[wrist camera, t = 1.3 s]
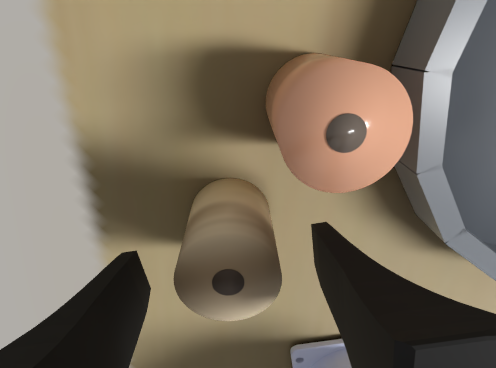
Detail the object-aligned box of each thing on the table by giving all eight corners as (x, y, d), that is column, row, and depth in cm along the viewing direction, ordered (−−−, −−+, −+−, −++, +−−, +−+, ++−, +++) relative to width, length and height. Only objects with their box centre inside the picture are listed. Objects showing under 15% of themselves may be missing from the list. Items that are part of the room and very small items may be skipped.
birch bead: (273, 239, 17) (287, 314, 13) (200, 250, 17) (187, 328, 13) (263, 172, 15) (275, 230, 11) (183, 185, 16) (160, 247, 11)
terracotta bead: (356, 137, 15) (410, 183, 10) (271, 151, 15) (286, 202, 10) (355, 45, 13) (418, 50, 9) (259, 61, 13) (271, 75, 9)
